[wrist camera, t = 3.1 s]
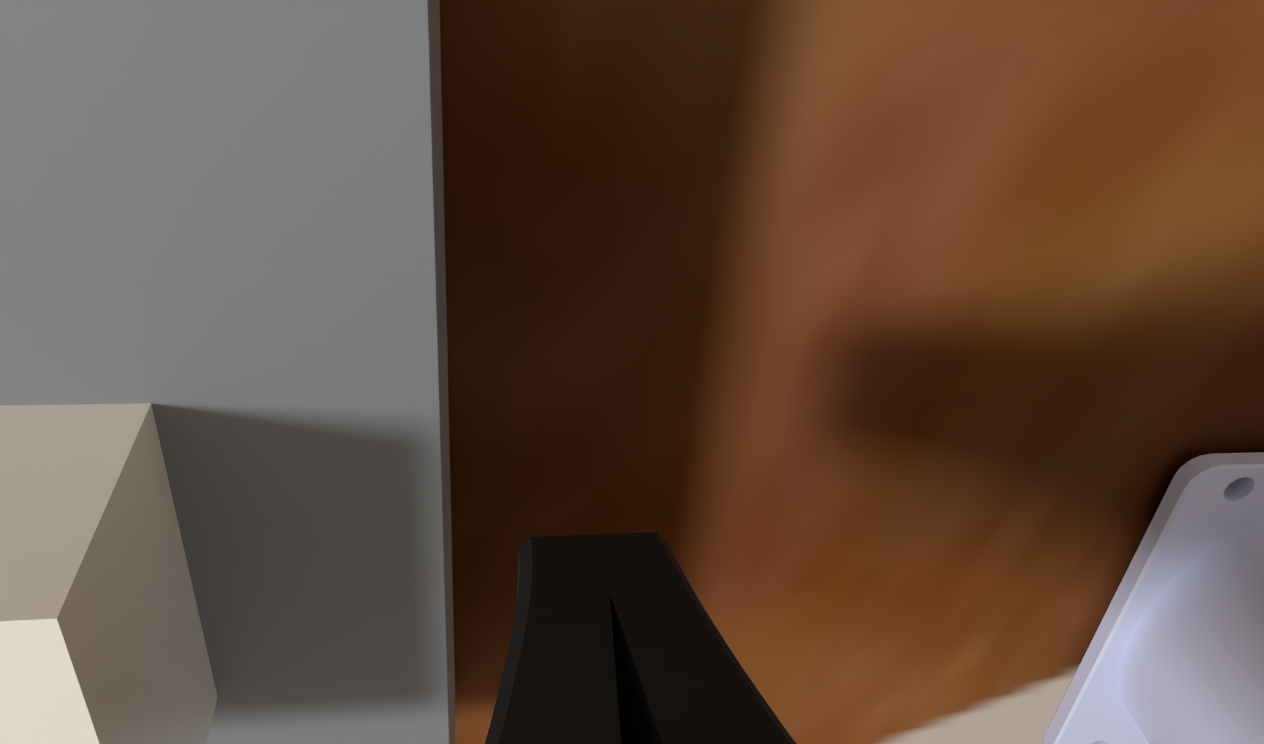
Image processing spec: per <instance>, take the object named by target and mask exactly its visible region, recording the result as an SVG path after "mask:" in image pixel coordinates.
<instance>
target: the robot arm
mask: <svg viewBox="0 0 1264 744" xmlns="http://www.w3.org/2000/svg"><path fill="white" fill-rule="evenodd" d="M485 744H796V743H795V742H794V740H793V739H792V737H791V736H790V735H789V733H788V732H787V731H786V729H785V728H784V727H783V725H782V724H781V722H780V721H779V720H778V718H777V717H776V715H775V714H774V712H773V711H772V710H771V708H770V707H769V705H768V704H767V702H766V701H765V700H764V698H763V697H762V695H761V694H760V693H759V691H758V690H757V688H756V687H755V685H754V684H753V683H752V681H751V680H750V678H749V677H748V675H747V674H746V673H745V671H744V670H743V668H742V667H741V665H740V664H739V662H738V661H737V659H736V658H735V656H734V655H733V653H732V652H731V650H730V649H729V647H728V645H727V644H726V642H725V641H724V639H723V638H722V636H721V634H720V633H719V631H718V630H717V628H716V627H715V625H714V623H713V622H712V620H711V619H710V617H709V615H708V614H707V612H706V611H705V609H704V607H703V606H702V604H701V602H700V601H699V599H698V597H697V596H696V594H695V592H694V591H693V589H692V587H691V586H690V584H689V582H688V580H687V579H686V577H685V575H684V573H683V572H682V570H681V568H680V566H679V564H678V563H677V561H676V559H675V557H674V555H673V553H672V552H671V550H670V548H669V546H668V544H667V542H666V541H665V540H664V539H663V538H662V537H661V536H660V535H659V534H658V533H631V534H605V535H578V536H552V537H531V538H529V539H528V540H527V541H525V542H524V543H523V544H521V545H520V546H519V547H518V580H517V606H516V613H515V620H514V625H513V630H512V636H511V641H510V646H509V652H508V657H507V661H506V665H505V669H504V673H503V677H502V681H501V685H500V689H499V693H498V697H497V701H496V704H495V708H494V712H493V716H492V720H491V724H490V728H489V731H488V735H487V738H486V742H485ZM1042 744H1264V452H1253V453H1215V454H1206V455H1201V456H1197V457H1195V458H1193V459H1191V460H1189V461H1187V462H1186V463H1185V464H1184V465H1182V466H1181V467H1180V468H1179V469H1178V471H1177V472H1176V474H1175V475H1174V477H1173V479H1172V481H1171V483H1170V485H1169V487H1168V489H1167V491H1166V493H1165V495H1164V497H1163V499H1162V501H1161V503H1160V505H1159V507H1158V509H1157V511H1156V513H1155V515H1154V517H1153V519H1152V521H1151V523H1150V525H1149V527H1148V529H1147V531H1146V533H1145V535H1144V537H1143V539H1142V541H1141V543H1140V545H1139V547H1138V549H1137V551H1136V553H1135V555H1134V557H1133V559H1132V561H1131V563H1130V565H1129V567H1128V569H1127V571H1126V573H1125V575H1124V577H1123V579H1122V581H1121V583H1120V585H1119V587H1118V589H1117V591H1116V593H1115V595H1114V597H1113V599H1112V601H1111V603H1110V605H1109V607H1108V609H1107V611H1106V613H1105V615H1104V617H1103V619H1102V621H1101V623H1100V625H1099V627H1098V629H1097V631H1096V633H1095V635H1094V637H1093V639H1092V641H1091V643H1090V645H1089V647H1088V649H1087V651H1086V653H1085V655H1084V657H1083V659H1082V661H1081V663H1080V665H1079V667H1078V669H1077V671H1076V673H1075V675H1074V677H1073V679H1072V681H1071V683H1070V685H1069V687H1068V689H1067V691H1066V693H1065V695H1064V697H1063V699H1062V701H1061V703H1060V705H1059V707H1058V709H1057V711H1056V713H1055V715H1054V717H1053V719H1052V721H1051V723H1050V725H1049V727H1048V729H1047V731H1046V733H1045V735H1044V737H1043V742H1042Z"/></svg>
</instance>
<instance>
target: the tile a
mask: <svg viewBox="0 0 1264 744" xmlns="http://www.w3.org/2000/svg"><path fill="white" fill-rule="evenodd" d="M217 698H218V697H217V692H216V688H215V683H214V679H213V675H212V670H211V666H210V661H209V657H208V653H207V648H206V644H205V639H204V635H203V630H202V626H201V622H200V617H199V613H198V608H197V604H196V600H195V595H194V591H193V586H192V582H191V578H190V573H189V569H188V564H187V560H186V555H185V551H184V547H183V542H182V538H181V533H180V529H179V525H178V520H177V516H176V511H175V507H174V502H173V498H172V494H171V489H170V485H169V480H168V476H167V472H166V467H165V463H164V458H163V454H162V449H161V445H160V441H159V436H158V432H157V427H156V423H155V419H154V414H153V410H152V405H151V403H145V404H75V405H5V406H0V744H206V743H207V739H208V735H209V731H210V726H211V722H212V718H213V714H214V710H215V706H216V702H217Z"/></svg>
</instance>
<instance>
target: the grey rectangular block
mask: <svg viewBox="0 0 1264 744" xmlns="http://www.w3.org/2000/svg"><path fill="white" fill-rule="evenodd" d="M145 403H151V405H152V410H153V414H154V419H155V423H156V427H157V432H158V436H159V441H160V445H161V449H162V454H163V458H164V463H165V467H166V472H167V476H168V480H169V485H170V489H171V494H172V498H173V502H174V507H175V511H176V516H177V520H178V525H179V529H180V533H181V538H182V542H183V547H184V551H185V555H186V560H187V564H188V569H189V573H190V578H191V582H192V586H193V591H194V595H195V600H196V604H197V608H198V613H199V617H200V622H201V626H202V630H203V635H204V639H205V644H206V648H207V653H208V657H209V661H210V666H211V670H212V675H213V679H214V683H215V688H216V692H217V697H218V698H217V702H216V706H215V710H214V714H213V718H212V722H211V726H210V731H209V735H208V739H207V743H206V744H455V662H454V618H453V573H452V528H451V484H450V439H449V395H448V350H447V306H446V261H445V217H444V172H443V128H442V83H441V39H440V0H0V406H5V405H75V404H145Z"/></svg>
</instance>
